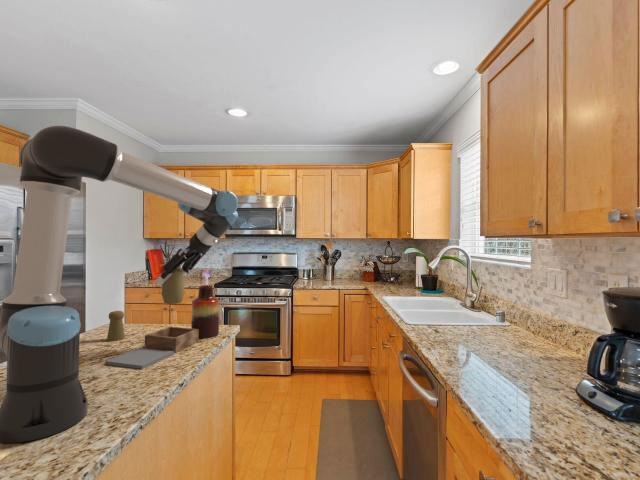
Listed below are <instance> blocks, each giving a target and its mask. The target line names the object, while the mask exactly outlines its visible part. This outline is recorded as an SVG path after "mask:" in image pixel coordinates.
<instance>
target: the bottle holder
mask: <svg viewBox="0 0 640 480" xmlns="http://www.w3.org/2000/svg"><path fill="white" fill-rule="evenodd" d="M199 340H200V339H199V329H191V328H190V327H189V328H188V327H178V326H177V327H176V326H175V327H174V326H169V327H166V328H163V329H160V330H155V331H154V332H151V333H148V334H145V335H144V348H147V349H157V350H166V351H174V354H175V353H178V352H180V351H182V350H184V349H186V348H189V347H192V346H193V345H196V344H198V343H199V342H200V341H199Z"/></svg>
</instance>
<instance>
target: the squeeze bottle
mask: <svg viewBox="0 0 640 480" xmlns="http://www.w3.org/2000/svg"><path fill="white" fill-rule="evenodd" d="M175 254H176V253H175ZM175 254H172V255H171V258H172V257H173V256H174V255H175ZM180 267H181V268H182V265H180V266H179V267H178V268H177V269H176V270H174V271H173V272H172V275H171V276H170V277H169V278H168V279H167V280H166V281H165V282H164V284H163V285H162V286H161V287H162V288H161V293H160V294H161V297H162V300H163V303H164V304H166V305H176V304H177V305H178V304H180V303H182V302H183V299H184V296H185V294H186V289H185V279H184V278H185V277H184V274H183V271H182V270H180Z"/></svg>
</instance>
